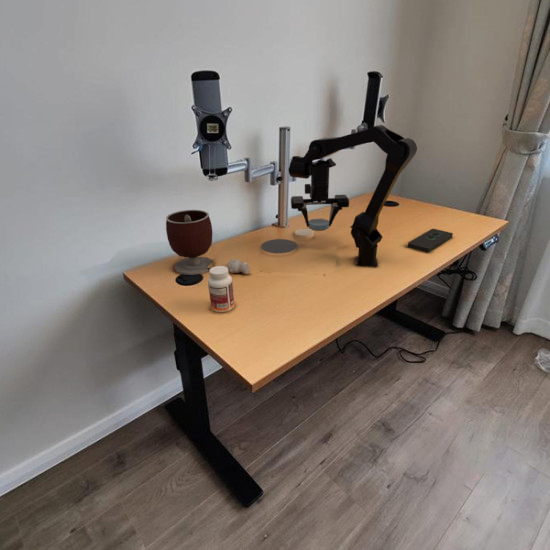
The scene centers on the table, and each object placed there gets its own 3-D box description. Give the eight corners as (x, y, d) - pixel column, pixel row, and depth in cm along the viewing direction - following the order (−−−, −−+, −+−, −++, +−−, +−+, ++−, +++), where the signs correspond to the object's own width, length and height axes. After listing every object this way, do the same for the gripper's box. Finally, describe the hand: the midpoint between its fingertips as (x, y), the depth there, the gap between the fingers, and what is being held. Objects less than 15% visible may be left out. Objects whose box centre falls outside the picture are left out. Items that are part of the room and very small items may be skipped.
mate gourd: (173, 260, 125) (163, 202, 115) (214, 255, 127) (207, 198, 118) (172, 281, 111) (161, 217, 102) (218, 275, 114) (211, 212, 105)
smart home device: (454, 232, 136) (429, 248, 124) (453, 237, 137) (428, 253, 125) (432, 227, 141) (406, 242, 129) (431, 232, 142) (406, 246, 130)
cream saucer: (313, 241, 137) (313, 235, 136) (294, 240, 138) (294, 235, 137) (314, 234, 143) (314, 229, 142) (296, 233, 144) (296, 228, 143)
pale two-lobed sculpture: (226, 273, 117) (237, 264, 119) (242, 281, 112) (253, 271, 114) (221, 263, 114) (233, 254, 117) (237, 270, 109) (249, 260, 112)
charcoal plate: (295, 257, 124) (295, 254, 124) (257, 255, 126) (257, 252, 126) (299, 242, 136) (299, 239, 135) (264, 241, 138) (264, 238, 137)
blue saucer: (328, 232, 121) (329, 225, 120) (307, 231, 122) (307, 225, 121) (329, 224, 128) (329, 218, 127) (308, 224, 129) (308, 218, 128)
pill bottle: (224, 298, 101) (220, 262, 96) (239, 306, 98) (236, 268, 92) (206, 307, 97) (201, 270, 92) (221, 315, 94) (217, 277, 88)
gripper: (344, 174, 125) (341, 218, 132) (289, 175, 125) (290, 219, 132) (350, 181, 115) (347, 228, 122) (291, 183, 115) (291, 230, 122)
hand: (318, 226), depth 125 cm, fingers closed on blue saucer, 7 cm apart
